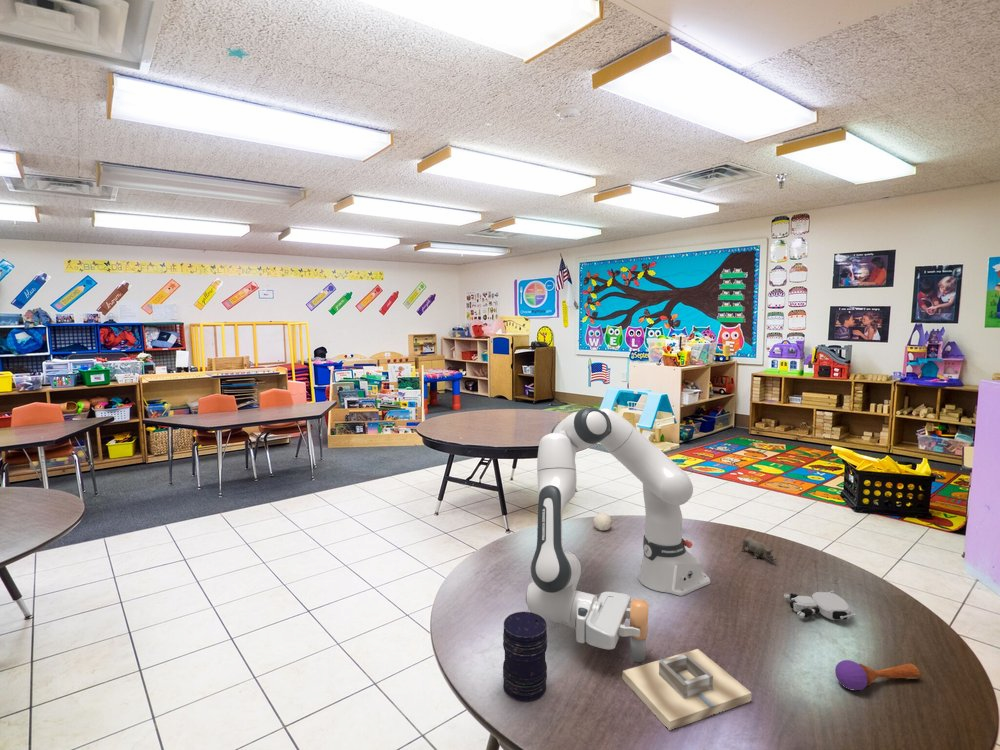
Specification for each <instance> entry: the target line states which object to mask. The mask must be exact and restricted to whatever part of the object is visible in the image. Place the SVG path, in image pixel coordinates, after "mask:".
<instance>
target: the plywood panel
mask: <svg viewBox="0 0 1000 750" xmlns="http://www.w3.org/2000/svg"><path fill="white" fill-rule="evenodd" d="M621 678H622V680H623V681H624V682H625V684H626V685H627V686H628V687H629V688H630V689H631V690H632V691H633V692H634V694H635V695H636V696H637V697H638V698H639V699H640V700H641V701H642V702H643V704H644V705H645V706H646V708H648V709H649V710H650V711H651V713H653V714H654V715H656V716H655V717H656V718H657V719H658V720H659V721H660V722H661V723H662V724H663V726H664V727H665V726H666V727H667V728H668V729H669V730H670V731H672V730H671V729H673V730H675V729H674V728H676V729H678V728H681V727H685V726H686V725H687V726H688V725H689V724H691V723H695V722H698V721H700V720H704V719H706V718H708V716H709V717H711V715H712V716H714V715H713V714H715V715H717V714H719V712H720V713H723V712H725V710H726V711H728V710H730V709H733V708H736V706H737V707H739V705H740V706H741V705H745V704H748V703H751V702H752V692H751V691H750V690H749V689H748V688H746V687H745V686H744V685H743V684H741V682H739V681H738V680H736V678H734V677H733V676H732V675H731V674H729V673H728V672H727V671H726V670H724V669H723V668H722V666H721V667H720V665H718V664H717V663H716V662H715V661H713V660H712V659H711V658H709V657H708V656H707V655H706V654H705V653H704V652H702V651H701V650H700V649H699V648H696V649H695V648H694V649H693V650H689V651H685V652H682V653H678V654H675V655H672V656H668V657H665V658H662V659H658V660H654V661H652V662H648V663H645V664H642V665H638V666H634V667H630V668H627V669H625V670H624V669H623V670H622V677H621ZM750 701H751V702H750ZM722 711H723V712H722ZM680 726H681V727H680ZM677 727H678V728H677ZM667 728H666V729H667ZM669 730H668V731H669Z"/></svg>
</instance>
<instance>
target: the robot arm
mask: <svg viewBox="0 0 1000 750" xmlns="http://www.w3.org/2000/svg"><path fill="white" fill-rule="evenodd" d="M551 429H552V430H551V432H550V433H548V434H546V435H544V436H543V437H541V438H540V441H539V445H538V449H537V450H538V451H537V461H536V462H537V464H536V465H537V466H536V467H537V468H536V470H537V476H536V477H537V492H538V497H537V498H538V499H537V500H538V504H537V528H536V529H537V533H536V535H537V538H536V549H535V551H534V554H533V558H532V561H531V564H530V574H531V578H532V581H531V582H530V583H529V584H528V586H527V589H526V595H525V603H526V607H527V609H528V612H532V613H535V614H538V615H540V616H541V617H543V618H544V619H545V621H546V622H550V623H555V624H564V625H567V626H568V627H570V628H572V629H575V639H576V642H578V643H579V644H585V643H587V645H589V646H593V647H596V648H599V649H604V650H614V649H615V648H616V645H617V643H618V641H619V639H620V637H631V636H636V637H639V636H640V634H641V628H640V627H639V626H635V625H634V626H633V627H630V626H626V625H625V623H626V620H630V604H631V600H632V599H631V596H630V595H628V594H627V593H622V592H616V591H615V592H614V591H603V592H601V593H598V594H592V593H589V592H583V591H580V590H577V588H578V585H579V583H580V579H581V576H582V564H581V561H580V559H579V558H578V556H577V555H576V554H575V553H573V552H571V551H570V550H566V549H565V550H564V548H563V513H564V510H565V507H566V506H567V504H568V503H569V502H570V501H571V500H572V499H573V498H574V497H575V495H576V489H577V466H576V465H577V464H576V456H577V455H576V454H577V452H581V451H584V450H586V449H588V448H590V447H592V446H593V445H596V444H600V445H601V446H602V447H603V449H605V450H607V452H608V453H609V454H611V456H613V457H614V458H615V459H616V460H617V461H618V462H620V464H622V466H624V467H625V468H626V469H627V470H628V471H629V472H630V473H631V474H632V475H634V476H635V478H636V479H638V480H639V481H640V482H641V483H642V492H643V493H642V494H643V500H644V510H645V511H644V512H645V522H644V523H645V526H644V527H645V528H644V535H643V543H642V548H643V556H642V562H641V565H640V571H639V574H638V577H637V578H638V581H639V583H641V585H643V586H644V587H646V588H648V589H651V590H653V591H657V592H662V593H669V594H673V595H675V596H680V597H681V596H685V595H688V594H689V593H692V592H694V591H696V590H699V589H700V588H704V587H706V586H708V585H710V584H711V579H710V577H709V576H708V575H707V574H706V573H705V572H704V571H703V565H702V563H701V561H700V559H698V558H697V557H696V556H695V555H693V554H692V553H691V552H690V551H688V550H687V548H688V549H691V548H692V547H693V542H692V541H689V539H686V540H685V539H684V538H683V537H682V535H683V514H682V513H683V512H682V510H681V506H682V505H684V504H686V503H687V502H689V500H691V498H692V496H693V493H694V486H693V483H692V481H691V479H690V477H689V476H688V474H687V473H686V472H685V471H684V470H683V469H682V468H681V467H680V466H679V465H678V464H677V463H675V462H674V461H673V460H672V459H671V458H670V457H668V455H666V454H665V453H664V452H663V451H661V449H660V448H659V447H657V446H656V445H655V444H654V443H653V442H652V441H650V440H649V439H648V438H647V437H646V436H645V435H644V434H642V432H640V430H639V429H637V428H636V427H635V426H634V425H633V424H632V423H631V422H629V421H628V420H627V419H626V418H625V417H623V416H622V415H621V414H619V413H617V412H615V411H613V410H612V409H610V408H607V407H606V408H605V407H603V408H600V409H599V408H596V407H584V408H582V409H580V410H578V411H575V412H573V413H571V414H569V415H567V416H566V417H564V418H563V419H562V420H559V422H557V423H556V424H555V425H554V426H553V428H551Z"/></svg>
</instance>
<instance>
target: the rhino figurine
mask: <svg viewBox="0 0 1000 750" xmlns="http://www.w3.org/2000/svg"><path fill="white" fill-rule="evenodd" d="M746 548H747V549H748V553H750V552H753V553H754V555H753V558H754V559H755V558H756V559H755V560H758V559H759V558H760V559H761V558H762V559H761V560H764V559H763V558H766V559H767V560H768V561H769V562H770V563H773V562H774V561H776V560H777V557H775V558H774V555H773V554H772V551H774V548H773V549H772V548H771V549H770V548H768V546H767V545H765V544H764V543H763V542H759V541H757V540H756V539H755V538H753V537H751V536H746V537H745V538H744V539H743V541H742V545H741V550H740V551H741V552H742V551H743V552H742V553H745V552H746ZM758 555H759V557H758ZM757 558H758V559H757Z"/></svg>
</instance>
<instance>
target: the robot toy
mask: <svg viewBox="0 0 1000 750" xmlns="http://www.w3.org/2000/svg"><path fill="white" fill-rule="evenodd" d="M783 597H784V599H786V600H788V599H789V600H790V601H789V607H790V609H793V611H794V612H796V613H797V614H796V615H797V616H799V617H801V618H805V619H806V618H810V617H812V615H816V614H821V616H823V617H824V618H827V619H829V620H832V621H835V620H840V621H846V620H849V619H850V618H851V617H857V615H858V614H857V613H853V614H852V613H851V607H850V605H849V603H848V602H847V601H846V600H845V599H843V598H842V597H841V596H839V595H838V594H836V593H835V591H834V590H831V591H828V592H826V591H817V592H814V593H813V594H812V595H811V596H808V595H799V594H796V593H792V592H791V593H790V594H789V593H784V594H783Z"/></svg>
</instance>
